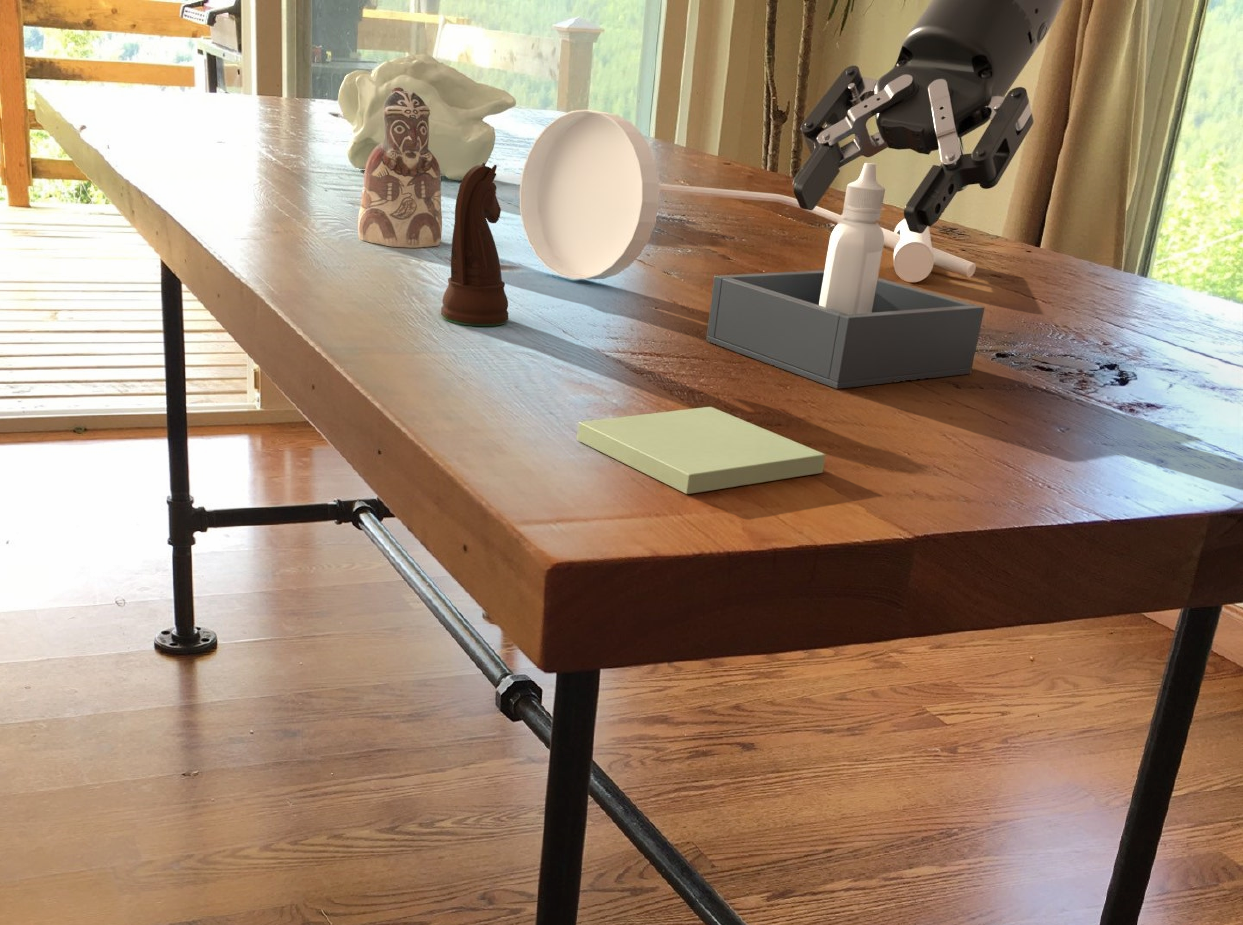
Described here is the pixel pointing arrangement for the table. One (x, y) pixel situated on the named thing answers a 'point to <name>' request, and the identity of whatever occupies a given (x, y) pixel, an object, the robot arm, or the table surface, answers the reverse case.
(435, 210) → the figurine
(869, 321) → the bin
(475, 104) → the folded clay sculpture
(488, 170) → the chess piece
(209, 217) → the table surface
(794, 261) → the table surface
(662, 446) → the pad
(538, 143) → the desk lamp
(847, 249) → the eye dropper bottle
